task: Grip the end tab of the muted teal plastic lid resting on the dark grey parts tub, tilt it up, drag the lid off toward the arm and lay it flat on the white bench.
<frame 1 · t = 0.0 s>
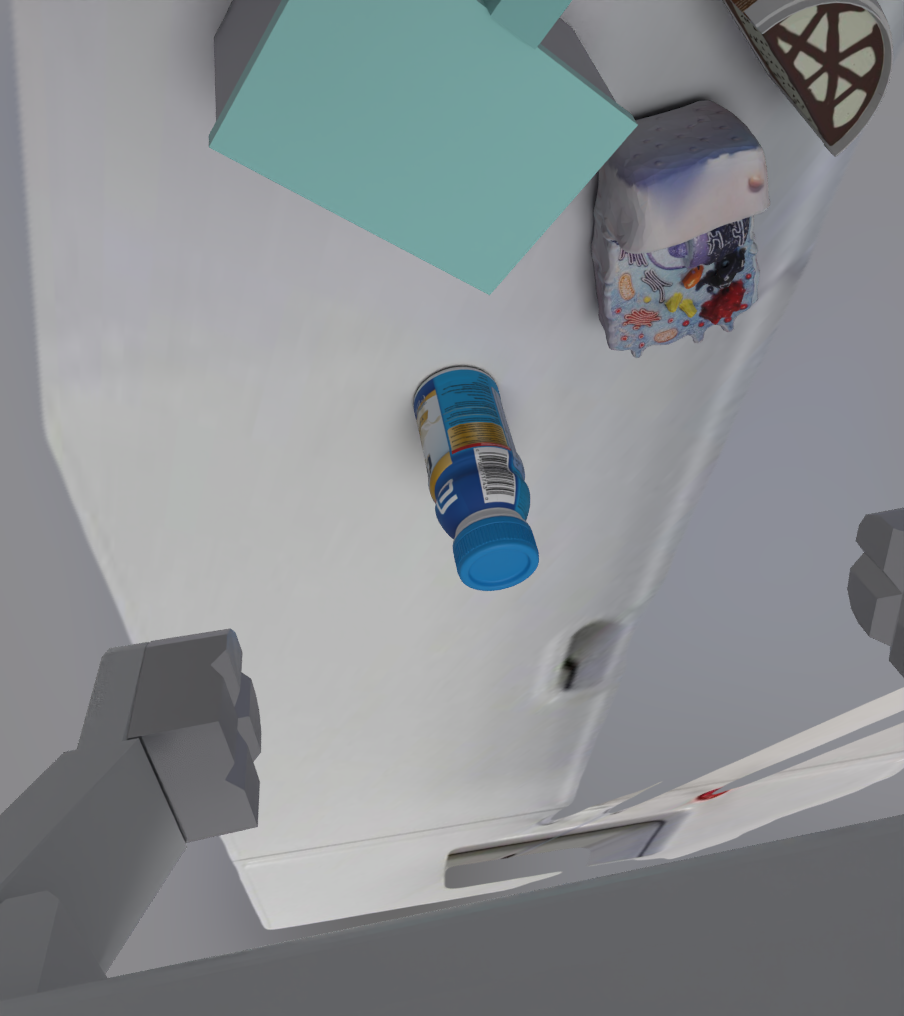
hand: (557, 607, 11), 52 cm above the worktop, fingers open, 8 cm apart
lid: (427, 124, 48), point 11 cm above the worktop, touching tub
beverage bottle: (454, 394, 82), on the worktop
tub: (398, 32, 55), on the worktop
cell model: (651, 208, 70), on the worktop
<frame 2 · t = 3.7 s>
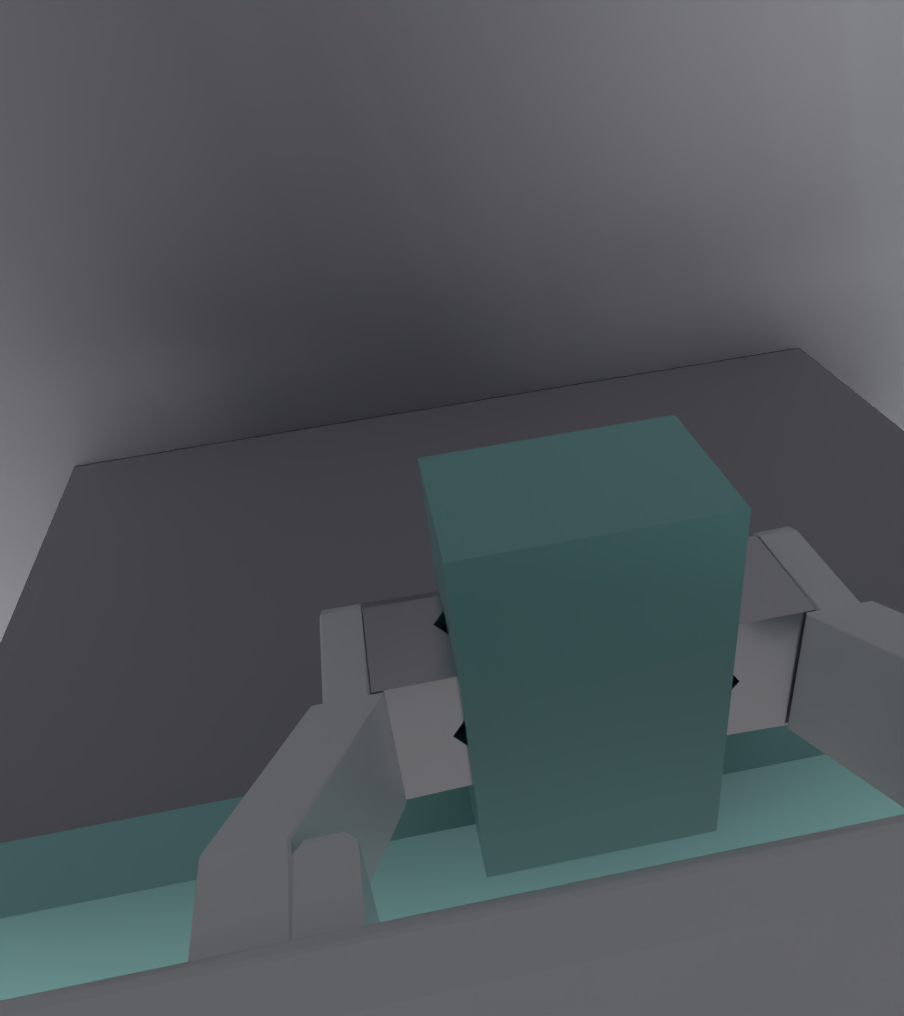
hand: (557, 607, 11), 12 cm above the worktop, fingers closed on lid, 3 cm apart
lid: (573, 978, 16), point 11 cm above the worktop, touching gripper, tub
tub: (470, 599, 26), on the worktop
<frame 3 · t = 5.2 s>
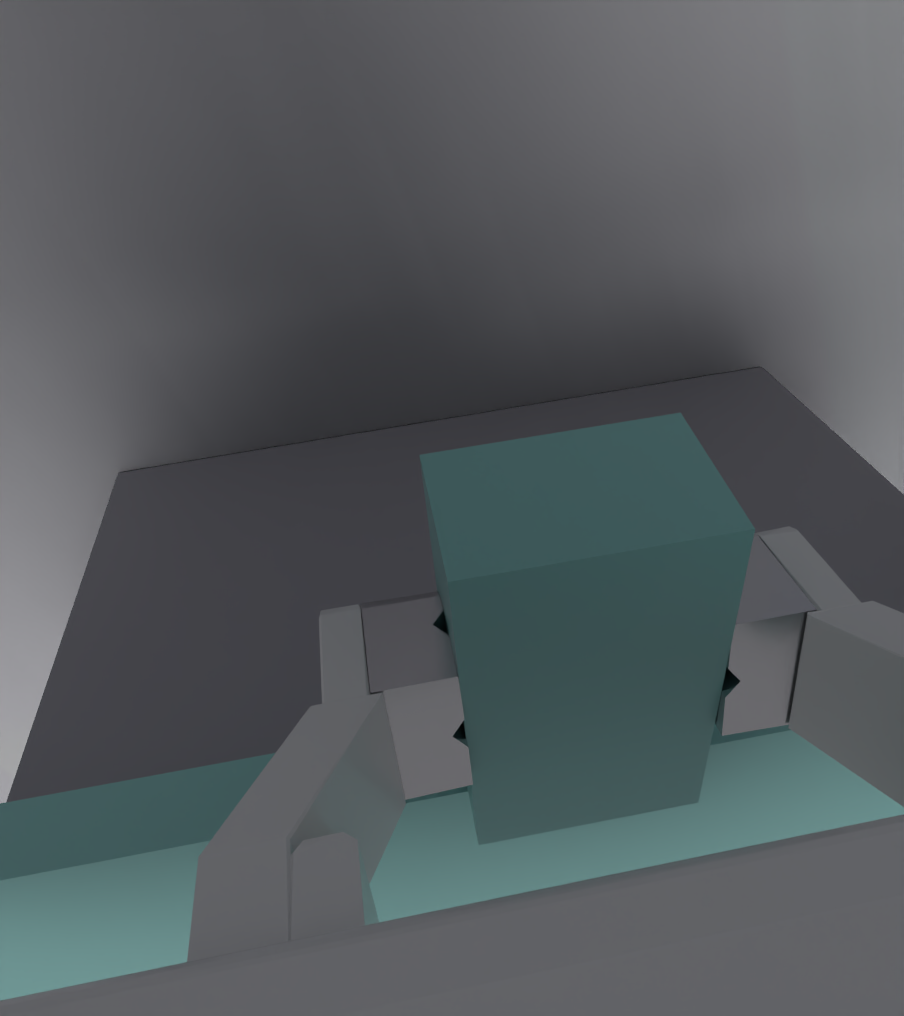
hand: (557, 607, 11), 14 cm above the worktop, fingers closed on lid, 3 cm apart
lid: (552, 904, 17), point 12 cm above the worktop, tilted 8°, touching gripper
tub: (469, 591, 29), on the worktop
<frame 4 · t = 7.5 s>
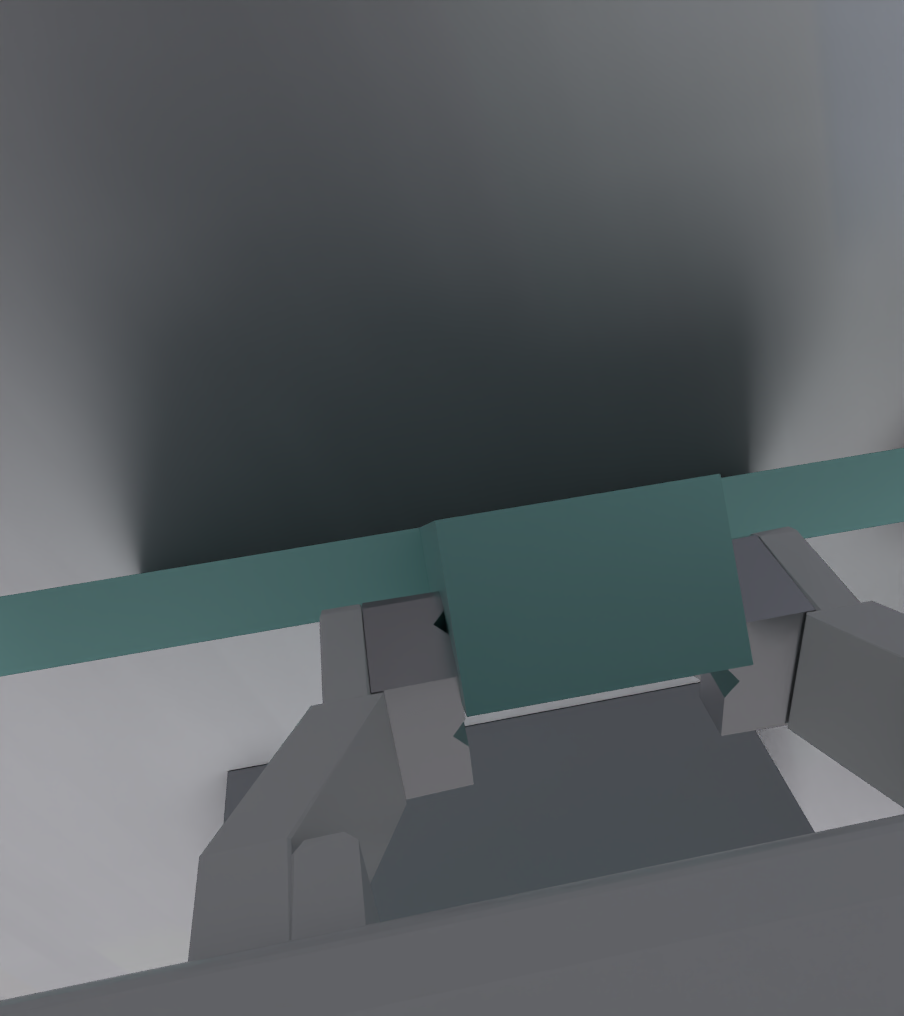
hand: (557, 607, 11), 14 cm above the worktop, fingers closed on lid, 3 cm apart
lid: (472, 521, 21), point 6 cm above the worktop, tilted 55°, touching gripper
tub: (494, 831, 36), on the worktop
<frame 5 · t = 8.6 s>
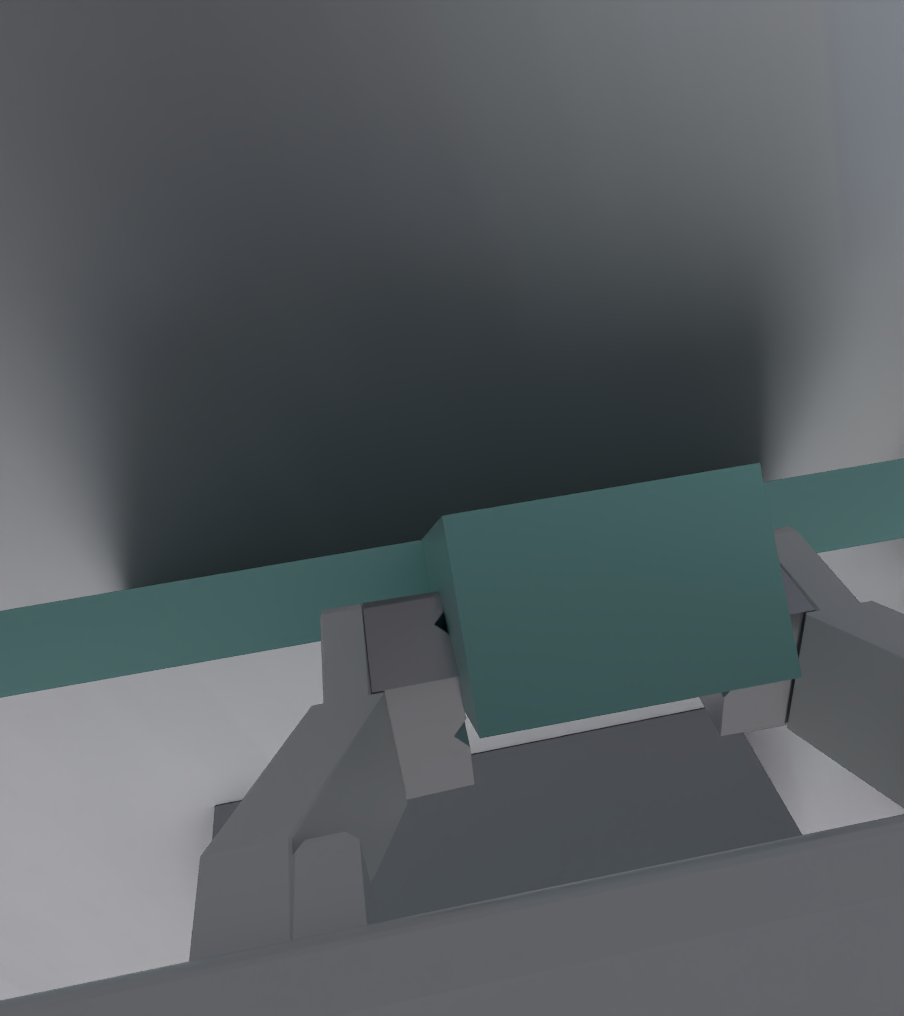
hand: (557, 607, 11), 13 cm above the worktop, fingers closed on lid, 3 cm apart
lid: (475, 541, 20), point 5 cm above the worktop, tilted 52°, touching gripper
tub: (490, 860, 35), on the worktop
when the fingers open (3 cm above the worktop, at t = 10.5 s): lid stays where it is, on the worktop.
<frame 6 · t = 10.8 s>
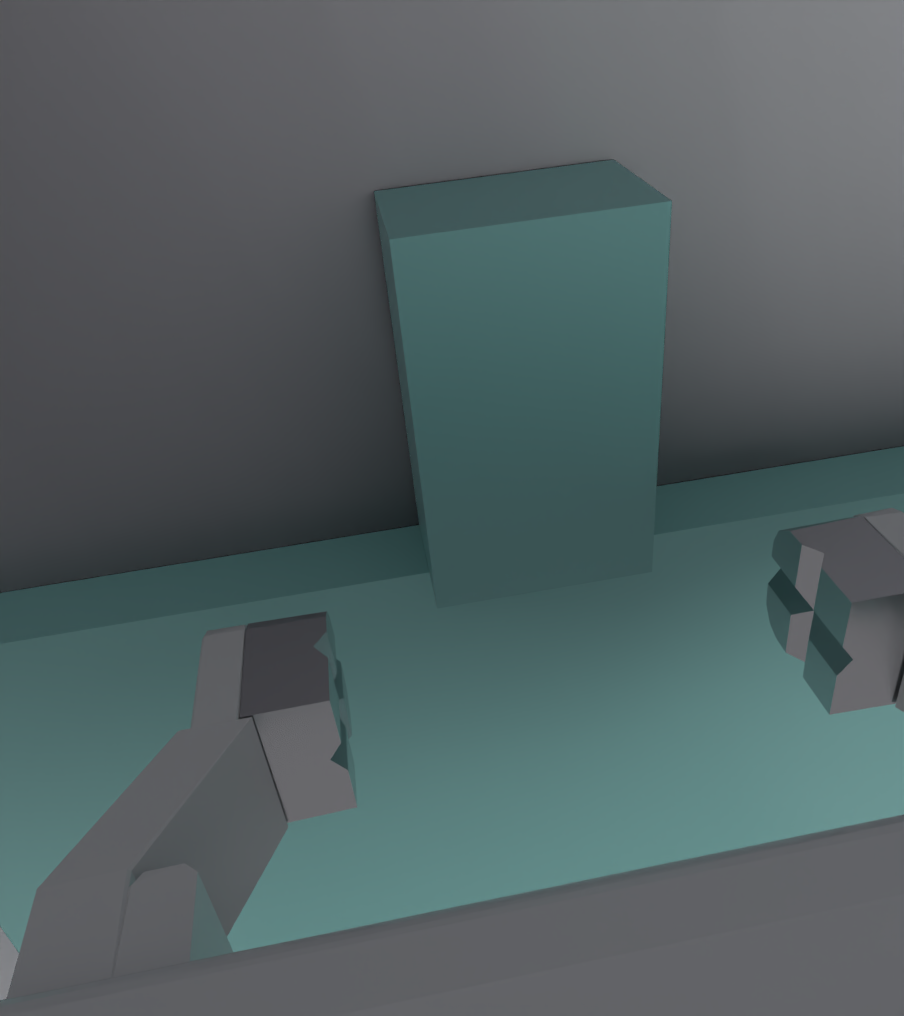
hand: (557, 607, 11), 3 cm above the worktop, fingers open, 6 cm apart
lid: (530, 788, 17), on the worktop
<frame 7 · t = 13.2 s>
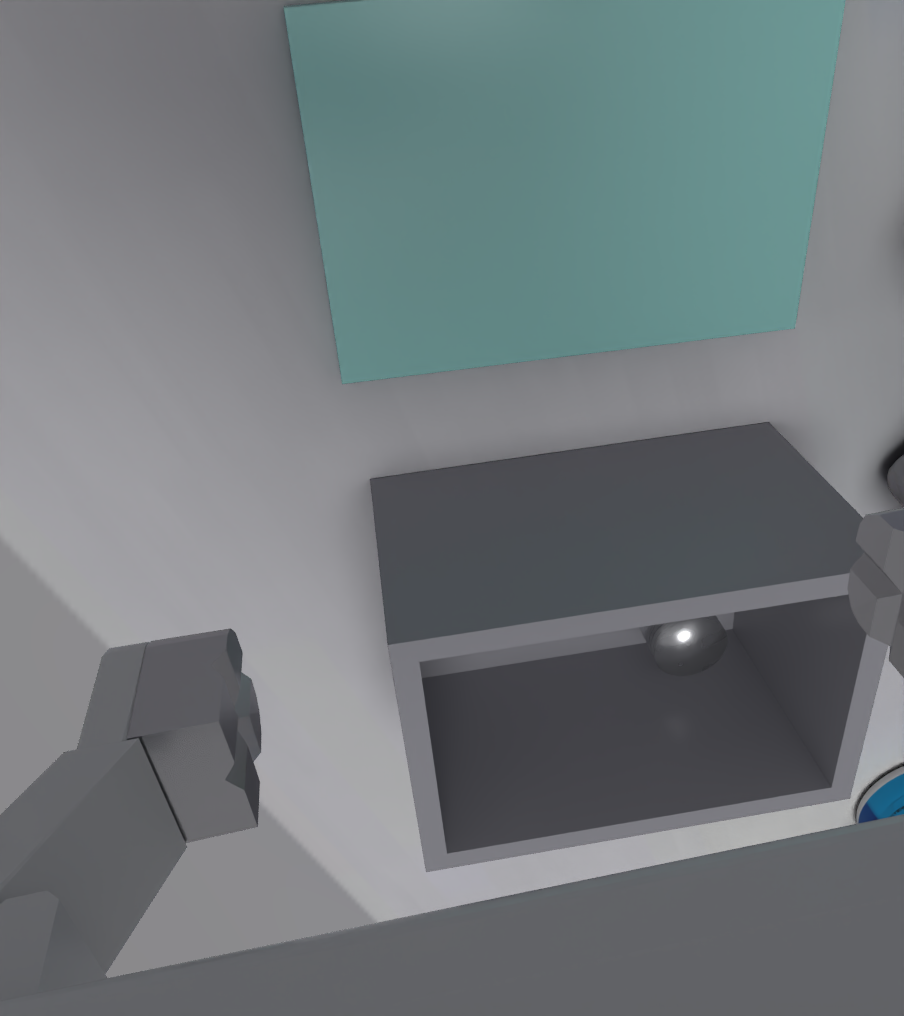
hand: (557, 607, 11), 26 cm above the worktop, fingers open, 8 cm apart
slug b: (663, 596, 45), point 1 cm above the worktop, touching tub
lid: (566, 182, 34), on the worktop
tub: (573, 562, 44), on the worktop
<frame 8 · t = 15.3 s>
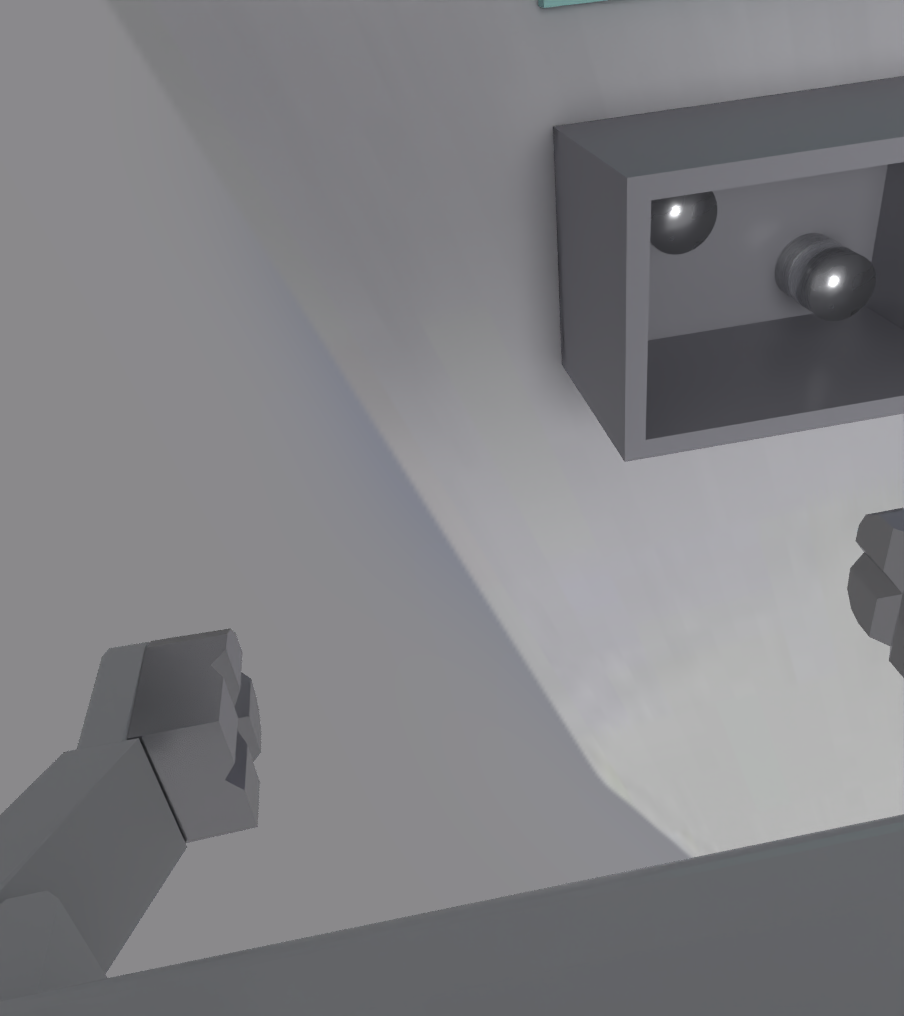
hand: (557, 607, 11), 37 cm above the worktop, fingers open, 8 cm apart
slug a: (653, 197, 45), point 1 cm above the worktop, touching tub
slug b: (805, 265, 49), point 1 cm above the worktop, touching tub
tub: (725, 228, 48), on the worktop
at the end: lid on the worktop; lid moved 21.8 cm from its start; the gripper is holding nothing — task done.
